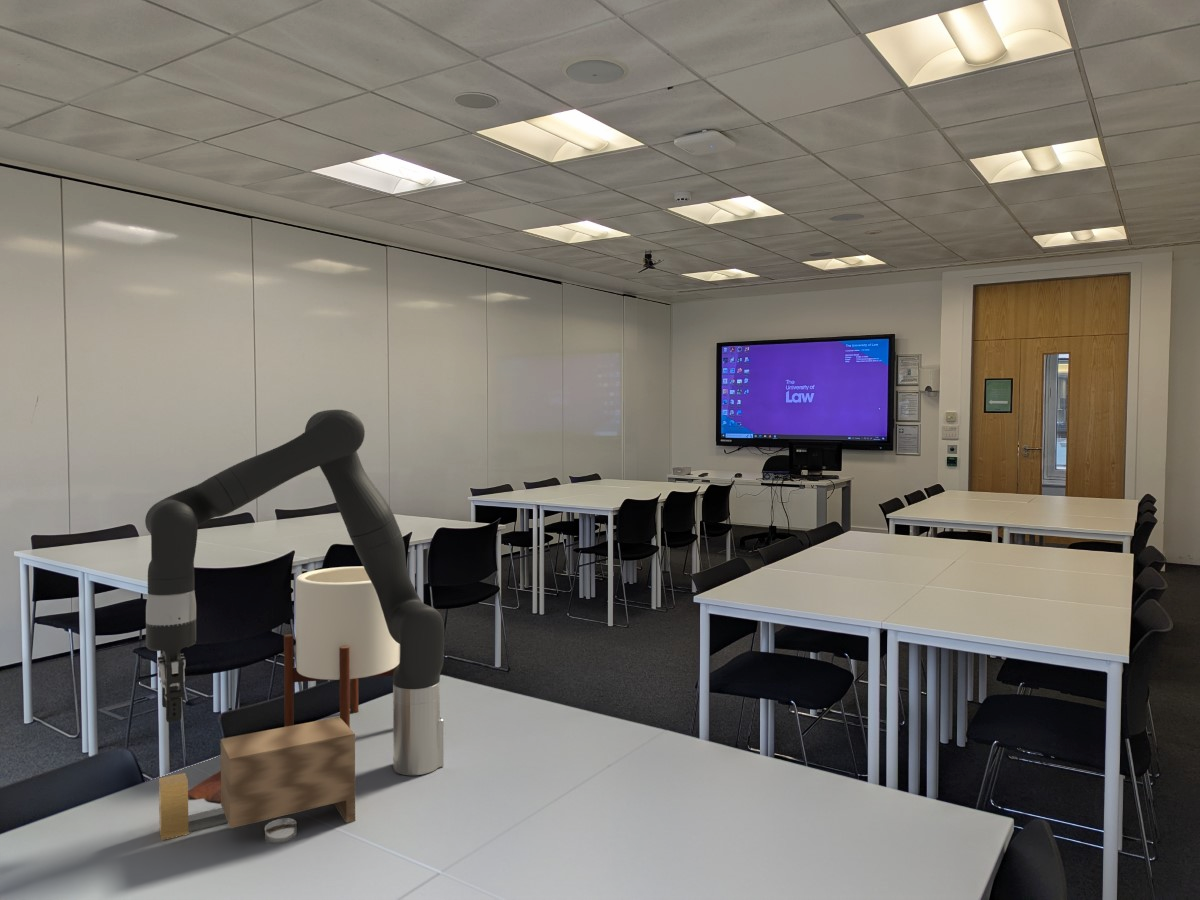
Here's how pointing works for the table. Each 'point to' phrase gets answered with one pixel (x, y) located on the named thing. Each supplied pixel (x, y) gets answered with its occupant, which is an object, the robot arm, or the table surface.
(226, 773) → the walnut cabinet
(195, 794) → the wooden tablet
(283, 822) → the steel token
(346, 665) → the plant pot with stand
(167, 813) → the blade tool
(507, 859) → the table surface
